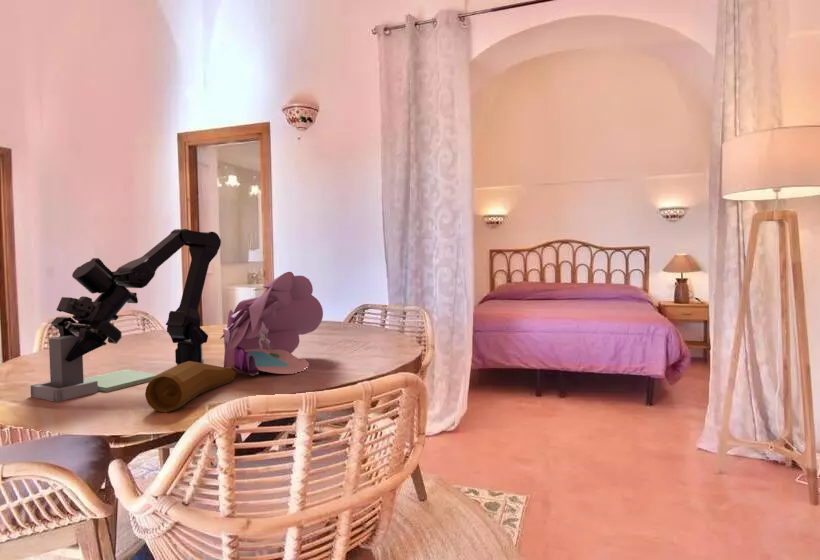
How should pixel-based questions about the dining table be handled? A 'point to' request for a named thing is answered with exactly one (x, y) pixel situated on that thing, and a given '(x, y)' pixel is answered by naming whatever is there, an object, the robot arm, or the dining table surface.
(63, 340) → the chute block
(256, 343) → the flower arrangement
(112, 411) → the dining table surface
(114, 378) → the two-tone flat tray
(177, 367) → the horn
